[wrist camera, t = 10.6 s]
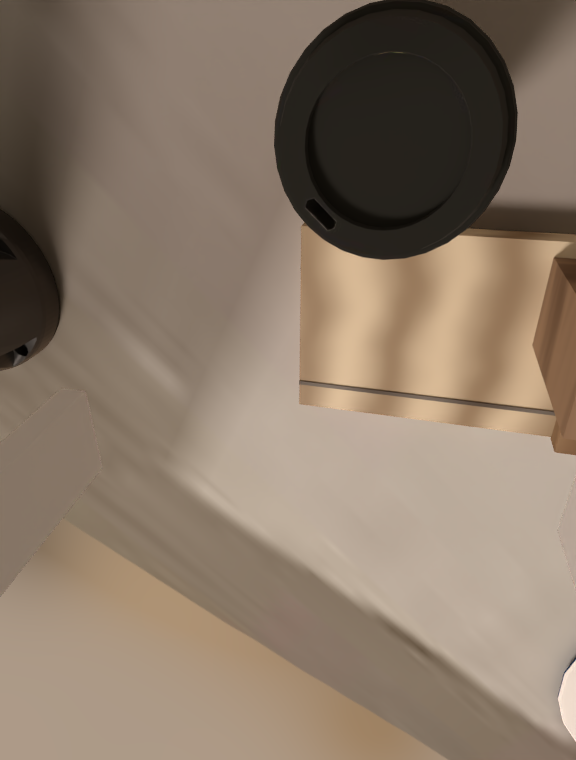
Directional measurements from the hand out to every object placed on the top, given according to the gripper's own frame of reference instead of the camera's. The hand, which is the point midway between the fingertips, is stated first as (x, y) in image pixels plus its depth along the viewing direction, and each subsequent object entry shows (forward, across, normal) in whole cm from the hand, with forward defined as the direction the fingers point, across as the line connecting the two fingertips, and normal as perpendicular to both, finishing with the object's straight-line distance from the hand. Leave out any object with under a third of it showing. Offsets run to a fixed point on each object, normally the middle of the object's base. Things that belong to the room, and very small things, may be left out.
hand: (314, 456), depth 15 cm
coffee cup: (+26, +1, +6) cm, 27 cm away
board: (+26, +8, -7) cm, 28 cm away
